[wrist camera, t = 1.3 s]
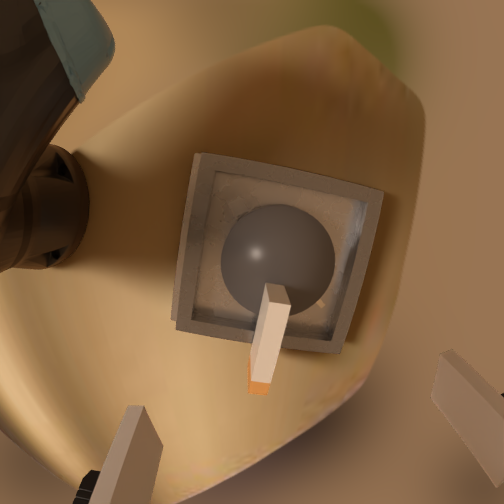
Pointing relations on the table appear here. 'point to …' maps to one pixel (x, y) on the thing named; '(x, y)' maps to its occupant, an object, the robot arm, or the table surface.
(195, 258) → the grey rectangular tray
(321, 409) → the table surface
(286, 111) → the table surface
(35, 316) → the table surface
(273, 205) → the grey dome with handle
